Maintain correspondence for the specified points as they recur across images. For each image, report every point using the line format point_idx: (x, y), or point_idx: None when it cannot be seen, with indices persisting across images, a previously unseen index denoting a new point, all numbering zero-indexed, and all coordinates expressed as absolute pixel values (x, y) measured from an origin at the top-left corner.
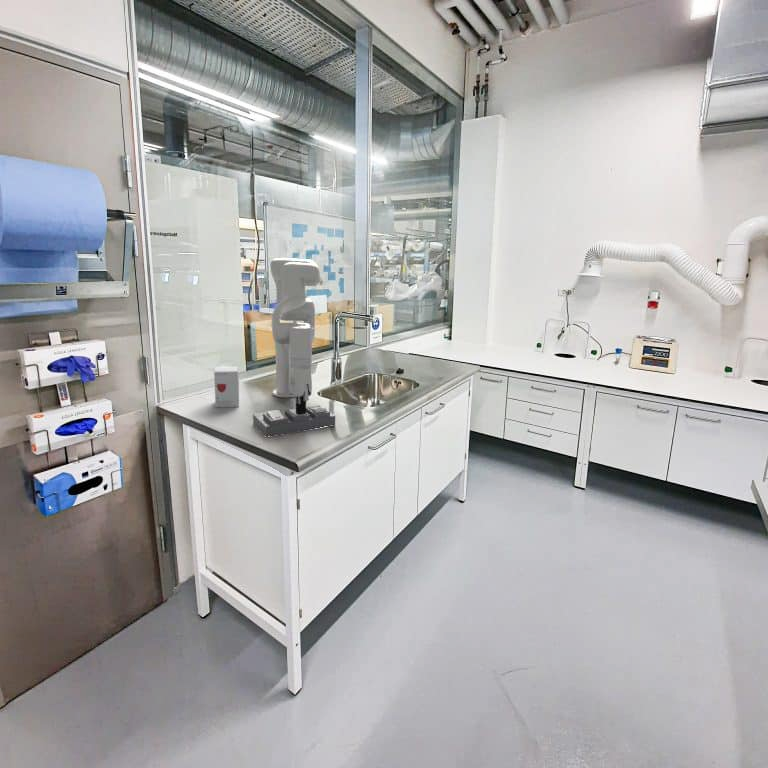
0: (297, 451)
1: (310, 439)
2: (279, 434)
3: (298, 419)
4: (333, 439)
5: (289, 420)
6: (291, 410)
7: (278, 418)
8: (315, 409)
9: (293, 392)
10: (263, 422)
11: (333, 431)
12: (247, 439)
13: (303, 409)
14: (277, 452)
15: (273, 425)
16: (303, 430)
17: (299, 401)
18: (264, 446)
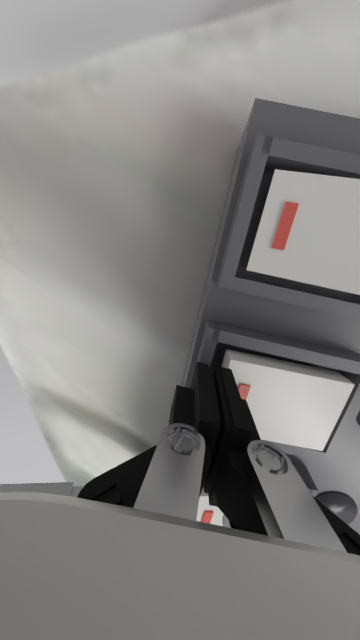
0: (2, 185)
1: (93, 315)
2: (220, 226)
3: (200, 352)
4: (47, 383)
5: (246, 314)
6: (325, 391)
7: (266, 223)
8: (200, 496)
9: (285, 618)
10: (346, 132)
11: (116, 432)
12: (295, 20)
13: (170, 418)
14: (34, 87)
15: (238, 167)
16: (190, 349)
17: (156, 451)
18: (139, 64)
